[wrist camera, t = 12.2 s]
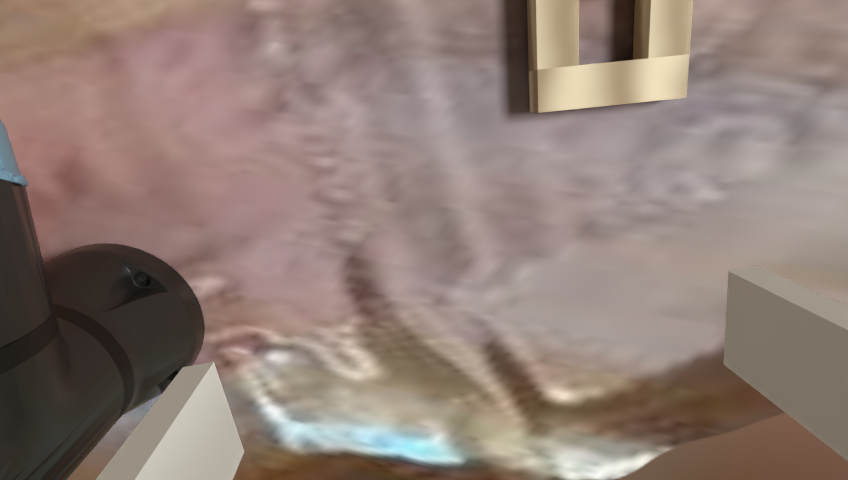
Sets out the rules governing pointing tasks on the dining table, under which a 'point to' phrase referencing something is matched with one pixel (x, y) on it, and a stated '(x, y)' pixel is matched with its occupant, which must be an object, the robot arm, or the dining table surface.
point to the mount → (613, 81)
